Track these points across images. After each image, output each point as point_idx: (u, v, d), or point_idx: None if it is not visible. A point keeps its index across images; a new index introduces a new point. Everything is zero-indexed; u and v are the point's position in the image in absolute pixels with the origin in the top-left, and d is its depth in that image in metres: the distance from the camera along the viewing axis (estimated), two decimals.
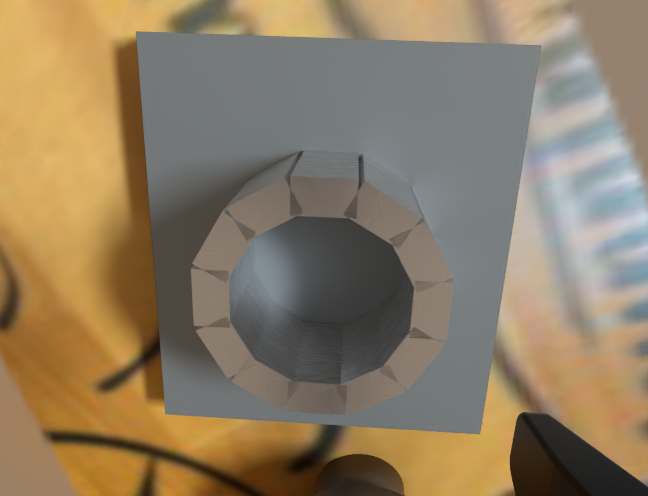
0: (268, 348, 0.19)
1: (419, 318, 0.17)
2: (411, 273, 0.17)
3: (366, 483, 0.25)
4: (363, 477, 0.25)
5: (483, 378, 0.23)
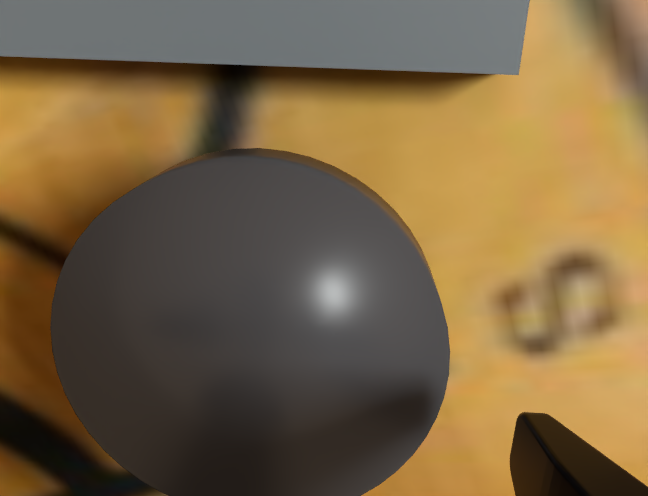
0: None
1: None
2: None
3: None
4: None
5: None
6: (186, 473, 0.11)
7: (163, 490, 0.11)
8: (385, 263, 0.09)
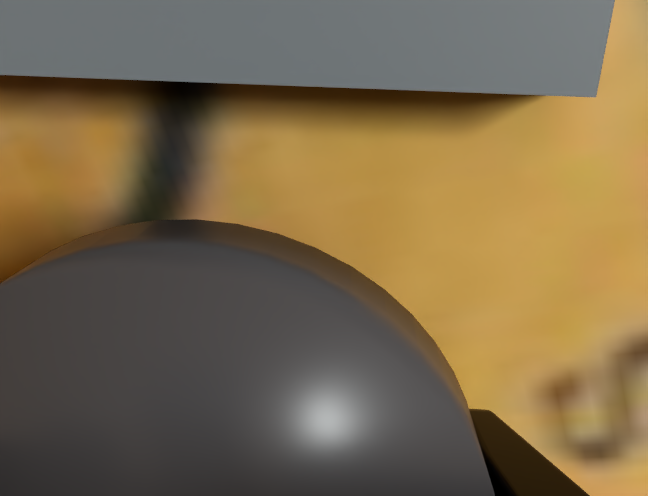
0: None
1: None
2: None
3: None
4: None
5: None
6: None
7: None
8: (398, 431, 0.05)
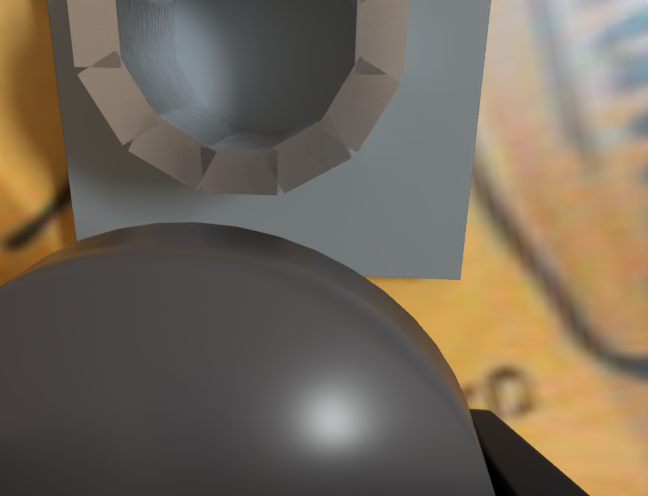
0: (180, 119, 0.15)
1: (366, 43, 0.13)
2: None
3: None
4: None
5: (462, 202, 0.19)
6: None
7: None
8: (400, 434, 0.05)
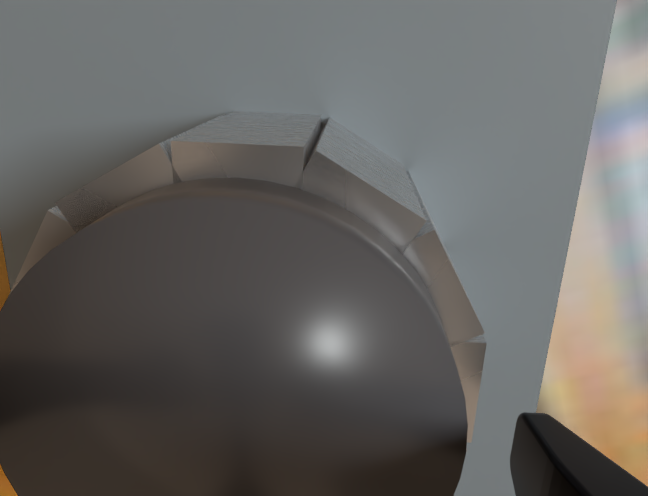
0: None
1: None
2: None
3: None
4: None
5: None
6: None
7: None
8: (388, 324, 0.07)
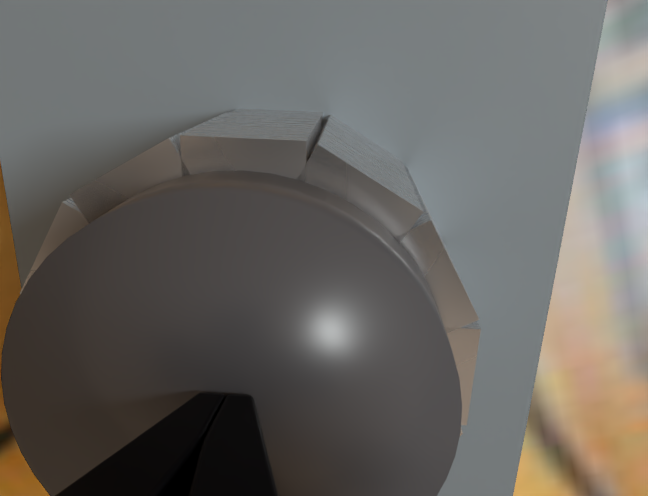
0: None
1: None
2: None
3: None
4: None
5: (513, 452, 0.16)
6: None
7: None
8: (386, 307, 0.08)
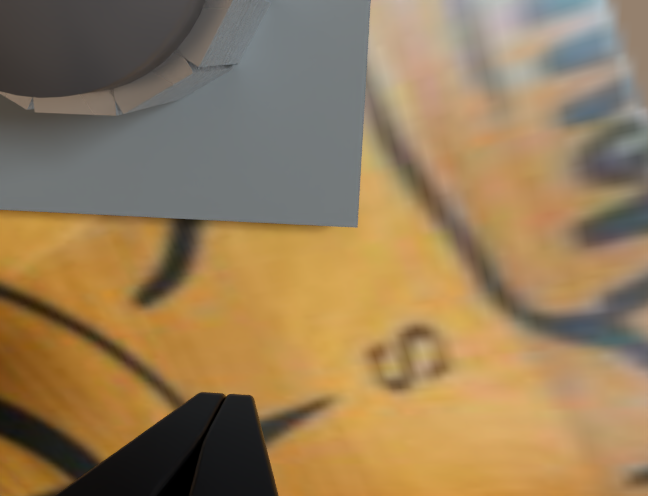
0: None
1: None
2: None
3: None
4: None
5: (355, 142, 0.17)
6: None
7: None
8: None
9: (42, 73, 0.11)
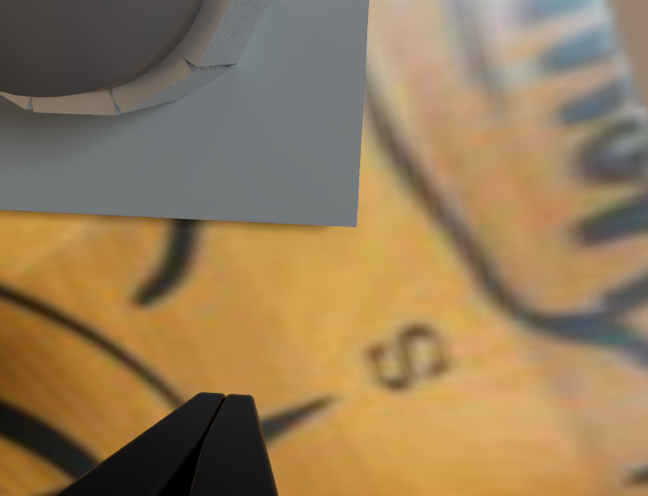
0: None
1: None
2: None
3: None
4: None
5: (354, 142, 0.17)
6: None
7: None
8: None
9: (40, 73, 0.11)
